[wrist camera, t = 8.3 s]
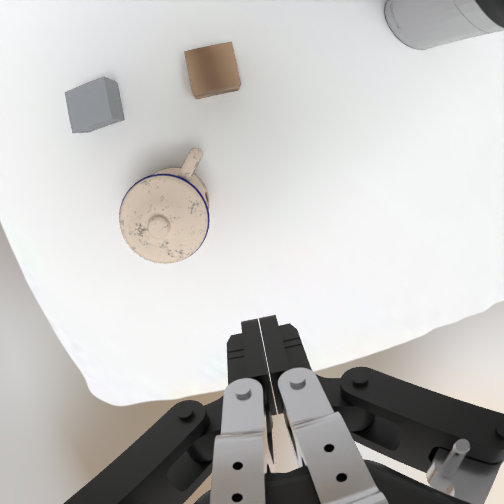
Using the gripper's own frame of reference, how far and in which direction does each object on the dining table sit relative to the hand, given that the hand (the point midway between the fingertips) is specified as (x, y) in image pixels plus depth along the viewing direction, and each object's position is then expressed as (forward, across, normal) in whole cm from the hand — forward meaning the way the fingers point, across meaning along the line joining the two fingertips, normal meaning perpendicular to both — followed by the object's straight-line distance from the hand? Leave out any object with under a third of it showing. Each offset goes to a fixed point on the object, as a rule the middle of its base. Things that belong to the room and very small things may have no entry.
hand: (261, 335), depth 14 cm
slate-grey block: (+28, +14, -15) cm, 34 cm away
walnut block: (+28, 0, -16) cm, 32 cm away
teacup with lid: (+28, +7, -2) cm, 28 cm away
